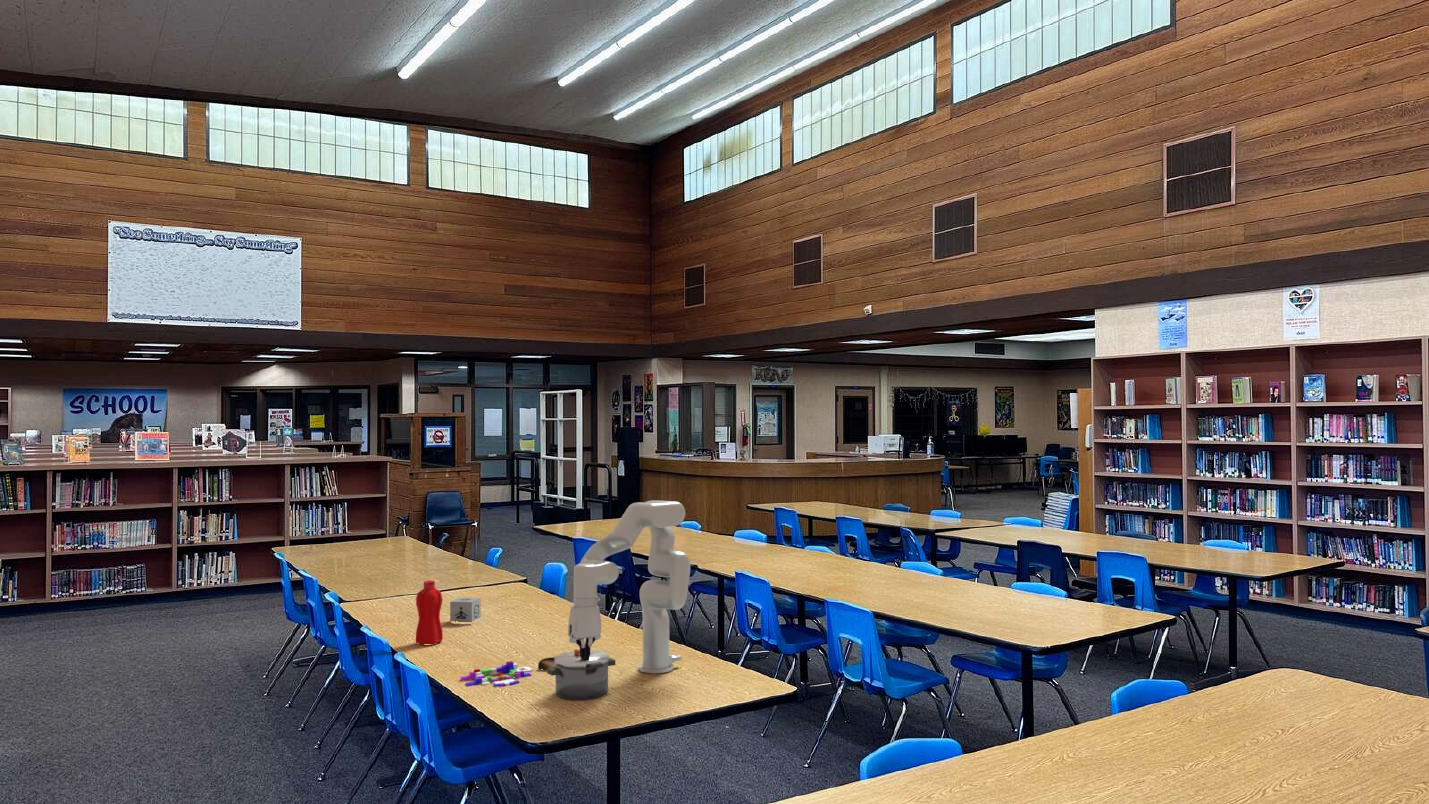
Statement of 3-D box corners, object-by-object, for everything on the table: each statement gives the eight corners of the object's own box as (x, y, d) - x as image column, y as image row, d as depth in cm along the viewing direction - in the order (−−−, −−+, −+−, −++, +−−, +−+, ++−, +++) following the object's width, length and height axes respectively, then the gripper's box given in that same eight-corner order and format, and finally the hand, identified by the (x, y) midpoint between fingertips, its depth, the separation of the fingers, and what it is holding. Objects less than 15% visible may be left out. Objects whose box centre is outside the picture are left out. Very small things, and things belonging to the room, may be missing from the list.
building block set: (474, 693, 297) (474, 679, 297) (456, 678, 314) (456, 665, 314) (545, 681, 310) (545, 668, 310) (524, 667, 328) (524, 655, 328)
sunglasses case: (553, 673, 318) (547, 655, 320) (542, 680, 322) (535, 662, 324) (590, 662, 332) (583, 645, 335) (578, 669, 336) (572, 652, 338)
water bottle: (409, 645, 360) (409, 582, 360) (427, 639, 370) (427, 578, 370) (427, 647, 356) (427, 584, 357) (446, 641, 366) (446, 579, 367)
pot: (600, 680, 308) (600, 651, 308) (624, 693, 293) (624, 662, 294) (538, 691, 296) (538, 661, 296) (560, 705, 281) (560, 673, 281)
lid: (594, 651, 307) (594, 643, 307) (621, 663, 290) (621, 655, 290) (546, 659, 297) (546, 650, 297) (570, 672, 281) (570, 663, 281)
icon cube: (459, 619, 408) (459, 597, 409) (480, 620, 407) (480, 597, 407) (450, 624, 398) (450, 601, 399) (471, 624, 397) (471, 602, 397)
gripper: (601, 598, 300) (600, 653, 299) (559, 602, 291) (558, 660, 291) (611, 601, 293) (610, 658, 293) (568, 606, 285) (568, 665, 285)
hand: (585, 659), depth 292 cm, fingers closed
